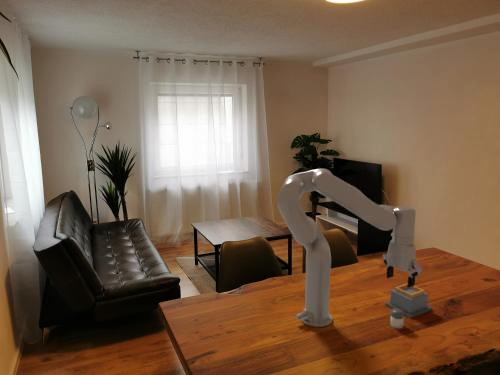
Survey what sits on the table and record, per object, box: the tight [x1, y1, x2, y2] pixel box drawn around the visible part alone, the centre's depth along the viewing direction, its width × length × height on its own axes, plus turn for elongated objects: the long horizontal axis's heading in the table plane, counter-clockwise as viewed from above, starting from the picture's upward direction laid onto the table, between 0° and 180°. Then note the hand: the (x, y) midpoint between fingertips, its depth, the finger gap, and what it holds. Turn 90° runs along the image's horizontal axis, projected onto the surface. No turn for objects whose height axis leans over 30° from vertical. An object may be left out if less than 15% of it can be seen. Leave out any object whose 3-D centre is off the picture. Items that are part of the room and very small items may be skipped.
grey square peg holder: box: [384, 282, 433, 319], centre depth 167 cm, size 14×13×8 cm
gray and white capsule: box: [389, 308, 405, 329], centre depth 154 cm, size 5×5×6 cm
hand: (400, 281), depth 151 cm, fingers open, 9 cm apart
